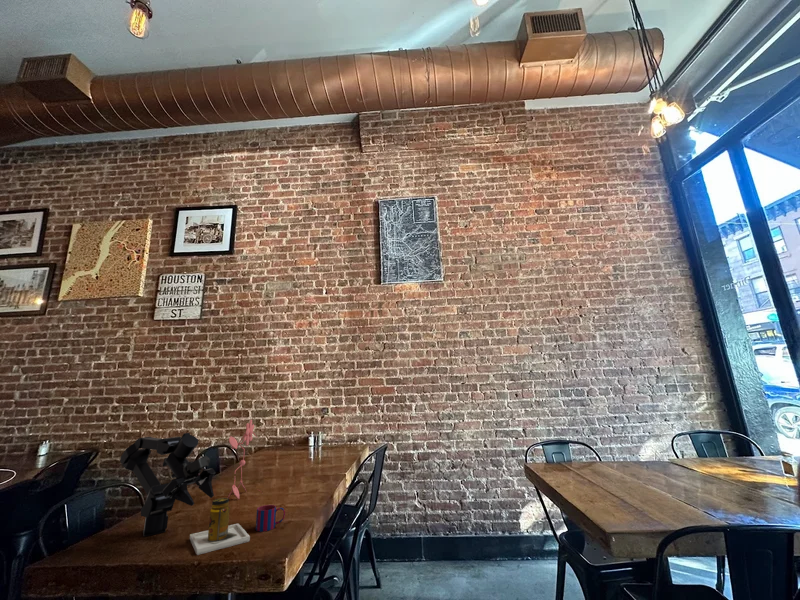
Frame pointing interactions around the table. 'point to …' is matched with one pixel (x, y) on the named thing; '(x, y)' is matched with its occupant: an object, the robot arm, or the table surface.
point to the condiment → (219, 521)
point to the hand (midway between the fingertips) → (203, 500)
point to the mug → (267, 518)
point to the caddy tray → (204, 546)
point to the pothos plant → (234, 444)
